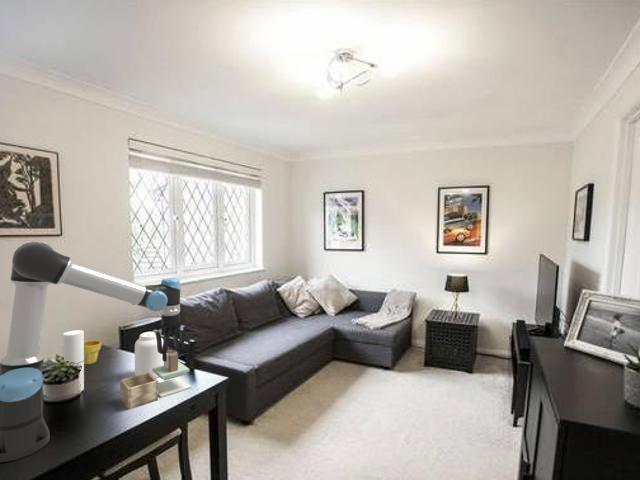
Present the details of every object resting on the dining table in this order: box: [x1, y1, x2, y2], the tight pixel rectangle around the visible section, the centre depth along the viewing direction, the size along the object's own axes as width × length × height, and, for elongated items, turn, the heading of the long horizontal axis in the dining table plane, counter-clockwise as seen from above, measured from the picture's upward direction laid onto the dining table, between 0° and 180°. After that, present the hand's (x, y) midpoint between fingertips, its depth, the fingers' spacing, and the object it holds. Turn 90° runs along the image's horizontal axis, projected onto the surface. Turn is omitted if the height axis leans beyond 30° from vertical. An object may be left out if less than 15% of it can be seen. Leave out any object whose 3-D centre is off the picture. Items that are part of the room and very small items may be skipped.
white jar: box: [134, 331, 164, 379], centre depth 165 cm, size 12×12×20 cm
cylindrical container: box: [62, 329, 85, 393], centre depth 148 cm, size 7×7×25 cm
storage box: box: [119, 373, 159, 410], centre depth 142 cm, size 11×11×8 cm
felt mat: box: [158, 376, 192, 399], centre depth 153 cm, size 13×13×1 cm
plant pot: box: [84, 339, 102, 365], centre depth 179 cm, size 10×10×10 cm
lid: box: [152, 349, 190, 382], centre depth 152 cm, size 12×12×10 cm
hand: (170, 366), depth 152 cm, fingers closed on lid, 3 cm apart
